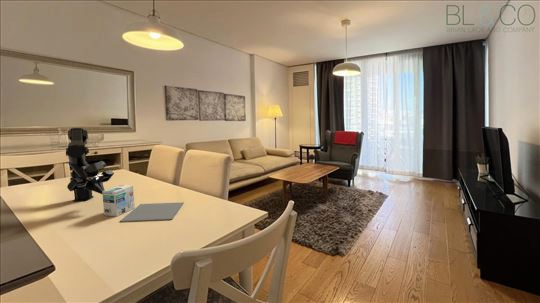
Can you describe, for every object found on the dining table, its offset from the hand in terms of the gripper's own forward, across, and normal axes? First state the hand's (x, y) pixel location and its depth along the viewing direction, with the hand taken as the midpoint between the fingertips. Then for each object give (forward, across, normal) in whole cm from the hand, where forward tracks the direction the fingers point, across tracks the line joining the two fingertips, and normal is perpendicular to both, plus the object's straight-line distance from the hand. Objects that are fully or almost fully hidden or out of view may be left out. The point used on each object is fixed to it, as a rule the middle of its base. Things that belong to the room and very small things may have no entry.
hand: (104, 193), depth 111 cm
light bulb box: (+11, 0, 0) cm, 11 cm away
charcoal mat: (+22, +3, -11) cm, 25 cm away
